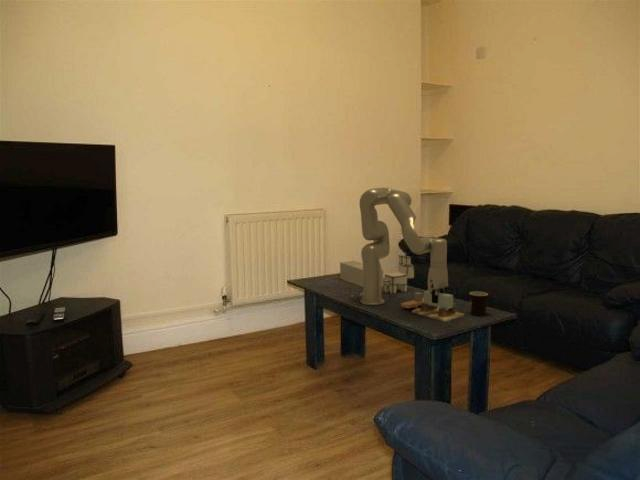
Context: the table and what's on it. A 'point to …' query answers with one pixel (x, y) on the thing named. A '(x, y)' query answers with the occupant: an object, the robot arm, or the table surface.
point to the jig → (438, 312)
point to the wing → (414, 301)
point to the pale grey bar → (439, 300)
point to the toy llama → (399, 276)
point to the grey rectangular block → (354, 272)
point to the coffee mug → (478, 303)
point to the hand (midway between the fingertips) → (438, 301)
